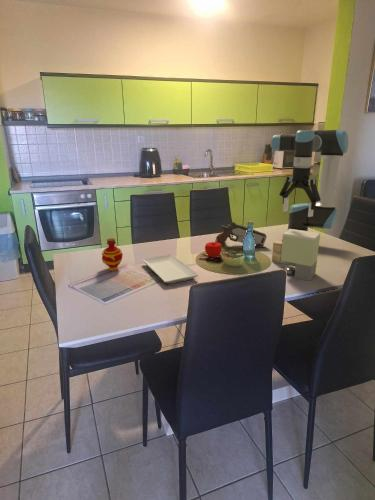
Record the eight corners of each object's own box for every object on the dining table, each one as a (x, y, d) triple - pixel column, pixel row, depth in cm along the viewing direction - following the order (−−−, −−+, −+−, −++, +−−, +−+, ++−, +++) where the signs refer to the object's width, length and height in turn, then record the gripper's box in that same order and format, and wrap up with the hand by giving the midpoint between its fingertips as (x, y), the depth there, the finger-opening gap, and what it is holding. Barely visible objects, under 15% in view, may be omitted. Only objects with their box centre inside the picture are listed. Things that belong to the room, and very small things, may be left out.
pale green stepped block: (284, 267, 169) (288, 228, 163) (315, 273, 162) (320, 233, 155) (277, 274, 161) (281, 233, 155) (309, 280, 154) (315, 238, 147)
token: (285, 270, 167) (286, 265, 166) (297, 272, 164) (297, 268, 163) (282, 274, 162) (282, 269, 161) (293, 276, 159) (294, 271, 158)
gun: (258, 258, 201) (267, 234, 195) (214, 243, 203) (222, 219, 198) (258, 255, 205) (267, 232, 200) (215, 240, 208) (223, 217, 202)
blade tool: (274, 259, 181) (275, 241, 178) (303, 264, 173) (305, 245, 170) (271, 261, 178) (273, 243, 174) (300, 267, 170) (303, 248, 167)
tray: (164, 288, 148) (164, 281, 147) (141, 264, 175) (141, 258, 173) (199, 281, 155) (199, 274, 153) (172, 259, 181) (172, 253, 180)
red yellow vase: (127, 266, 172) (125, 237, 167) (117, 273, 163) (114, 243, 158) (109, 263, 175) (107, 235, 170) (98, 271, 166) (95, 241, 161)
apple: (202, 258, 182) (202, 244, 180) (208, 253, 190) (208, 240, 187) (218, 260, 179) (219, 246, 176) (223, 255, 187) (224, 241, 184)
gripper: (274, 165, 159) (270, 210, 166) (322, 169, 140) (316, 220, 147) (284, 164, 163) (280, 208, 170) (332, 168, 144) (326, 217, 151)
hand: (297, 213), depth 159 cm, fingers open, 13 cm apart
